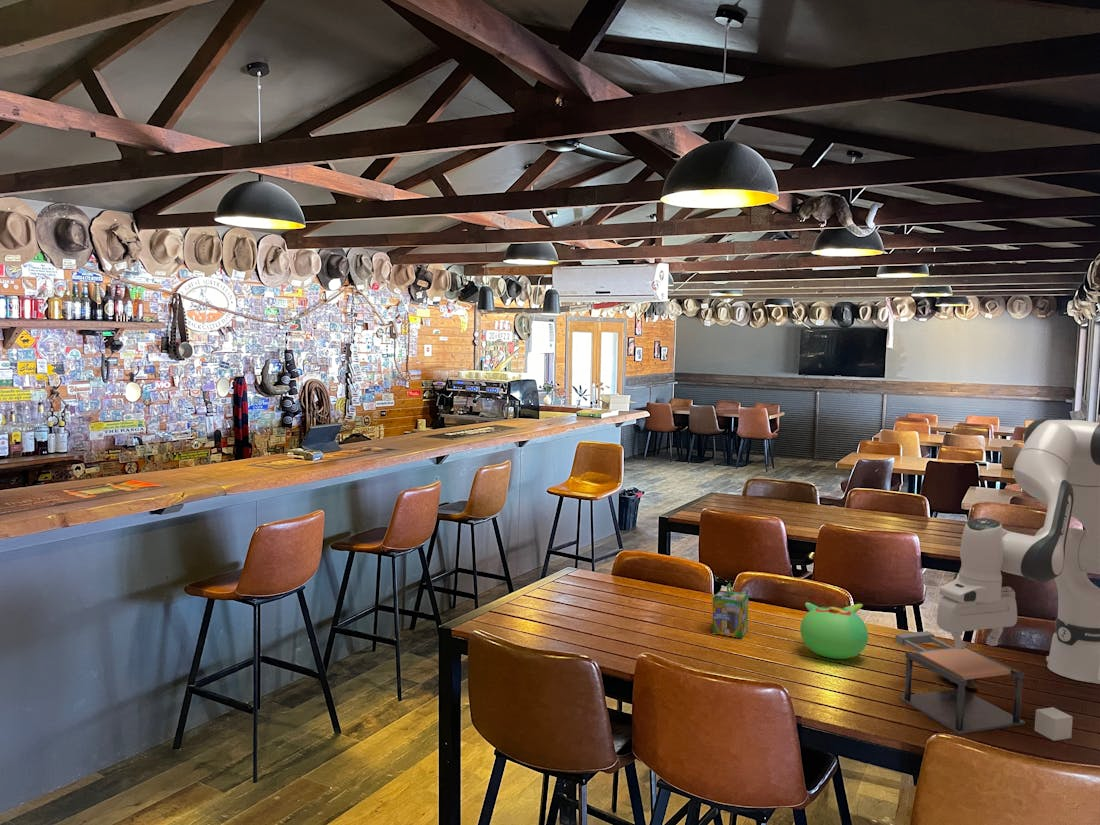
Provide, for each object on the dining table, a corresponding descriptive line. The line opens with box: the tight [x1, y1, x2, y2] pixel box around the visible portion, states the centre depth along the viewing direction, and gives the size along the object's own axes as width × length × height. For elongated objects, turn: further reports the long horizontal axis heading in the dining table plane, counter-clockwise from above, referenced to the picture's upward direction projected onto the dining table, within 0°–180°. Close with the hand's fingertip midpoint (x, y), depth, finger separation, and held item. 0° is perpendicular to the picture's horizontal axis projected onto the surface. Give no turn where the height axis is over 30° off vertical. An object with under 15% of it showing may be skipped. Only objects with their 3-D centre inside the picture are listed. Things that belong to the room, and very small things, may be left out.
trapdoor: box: [894, 630, 1011, 680], centre depth 195 cm, size 24×14×2 cm, turn 17°
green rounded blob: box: [799, 602, 869, 660], centre depth 225 cm, size 18×17×15 cm
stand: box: [899, 645, 1026, 735], centre depth 191 cm, size 19×19×12 cm
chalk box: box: [711, 582, 750, 639], centre depth 242 cm, size 9×9×15 cm
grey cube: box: [1034, 706, 1074, 742], centre depth 180 cm, size 5×5×5 cm
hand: (976, 646), depth 187 cm, fingers open, 8 cm apart
